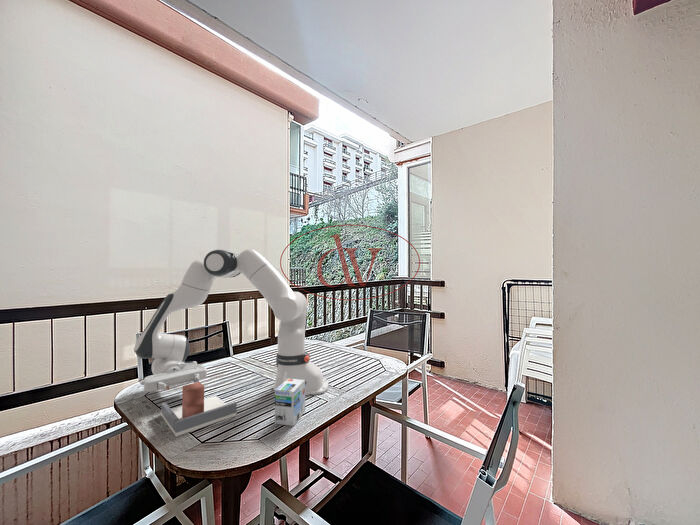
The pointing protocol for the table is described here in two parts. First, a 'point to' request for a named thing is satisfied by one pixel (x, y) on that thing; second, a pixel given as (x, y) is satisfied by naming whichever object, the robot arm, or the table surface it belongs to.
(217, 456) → the table surface
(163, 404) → the tray
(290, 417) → the light bulb box
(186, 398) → the brick-red block
